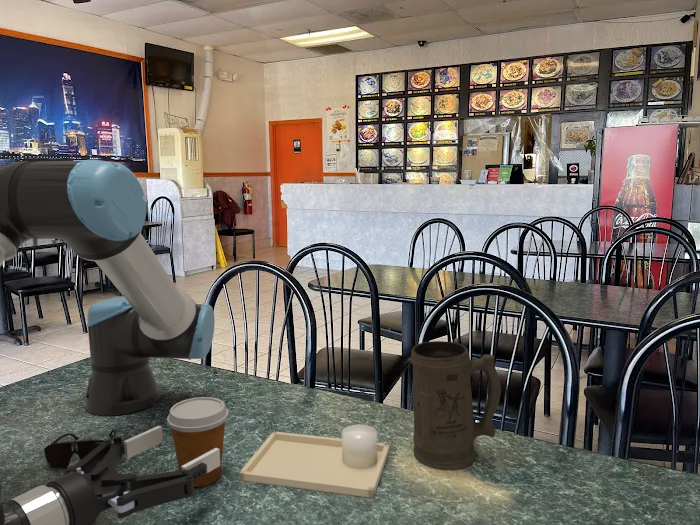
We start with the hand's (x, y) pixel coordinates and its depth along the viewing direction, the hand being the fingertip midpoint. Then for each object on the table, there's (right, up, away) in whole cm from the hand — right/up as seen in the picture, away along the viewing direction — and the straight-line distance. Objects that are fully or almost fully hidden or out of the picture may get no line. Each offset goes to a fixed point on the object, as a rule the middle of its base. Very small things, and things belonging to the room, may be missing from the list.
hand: (188, 444), depth 87 cm
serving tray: (+20, -6, +6) cm, 22 cm away
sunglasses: (-22, -6, +12) cm, 26 cm away
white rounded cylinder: (+27, -5, +7) cm, 29 cm away
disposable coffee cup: (+1, -7, +3) cm, 7 cm away
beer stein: (+44, -5, +9) cm, 45 cm away
